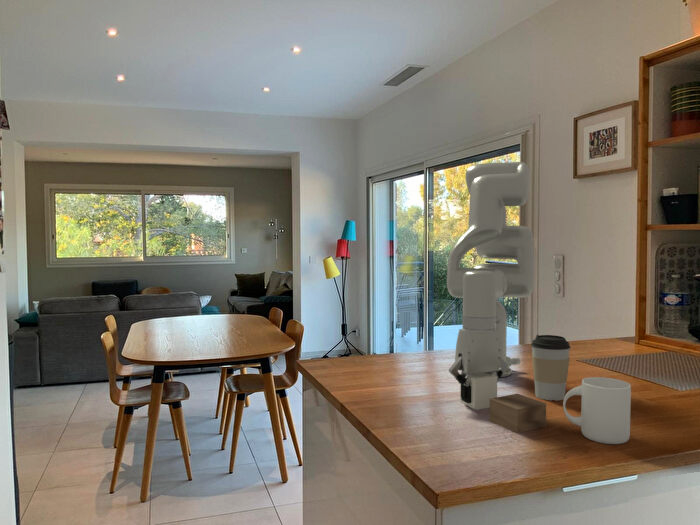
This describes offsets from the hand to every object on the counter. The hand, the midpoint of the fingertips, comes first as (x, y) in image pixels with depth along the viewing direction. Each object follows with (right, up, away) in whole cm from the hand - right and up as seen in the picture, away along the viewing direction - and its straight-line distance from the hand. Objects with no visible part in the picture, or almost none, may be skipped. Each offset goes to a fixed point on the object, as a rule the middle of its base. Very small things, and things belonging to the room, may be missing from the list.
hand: (478, 399), depth 124 cm
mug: (+18, -2, -20) cm, 27 cm away
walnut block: (+5, -2, -13) cm, 14 cm away
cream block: (0, -1, 0) cm, 1 cm away
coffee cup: (+19, -1, +6) cm, 20 cm away
